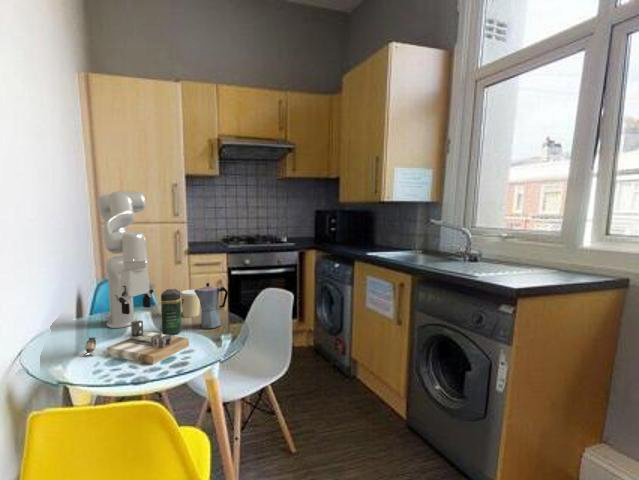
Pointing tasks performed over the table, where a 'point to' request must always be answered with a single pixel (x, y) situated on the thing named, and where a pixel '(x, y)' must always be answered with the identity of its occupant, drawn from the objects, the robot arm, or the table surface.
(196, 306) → the coffee cup
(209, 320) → the moka pot
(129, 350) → the lock board
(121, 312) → the robot arm
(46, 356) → the table surface
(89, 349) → the vase
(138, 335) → the dark metal knob
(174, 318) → the coffee jar
